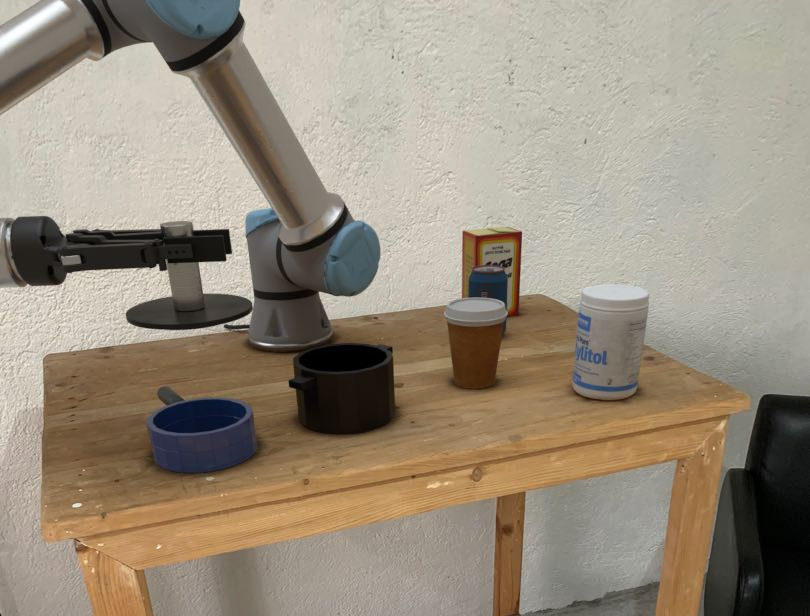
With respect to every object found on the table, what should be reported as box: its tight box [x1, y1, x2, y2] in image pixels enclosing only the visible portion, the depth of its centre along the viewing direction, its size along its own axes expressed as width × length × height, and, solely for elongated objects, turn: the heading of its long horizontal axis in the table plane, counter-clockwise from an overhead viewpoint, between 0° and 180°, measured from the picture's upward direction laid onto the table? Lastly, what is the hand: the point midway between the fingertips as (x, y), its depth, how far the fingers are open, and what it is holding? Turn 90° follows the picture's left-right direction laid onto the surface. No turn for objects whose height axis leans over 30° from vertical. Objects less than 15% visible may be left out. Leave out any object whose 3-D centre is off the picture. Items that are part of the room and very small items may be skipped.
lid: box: [125, 220, 253, 331], centre depth 93 cm, size 15×15×11 cm
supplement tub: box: [571, 283, 650, 401], centre depth 115 cm, size 10×10×15 cm
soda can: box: [468, 265, 508, 336], centre depth 143 cm, size 7×7×12 cm
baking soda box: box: [461, 226, 523, 317], centre depth 155 cm, size 10×6×16 cm
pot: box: [287, 342, 396, 435], centre depth 111 cm, size 14×19×8 cm
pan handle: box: [157, 385, 186, 406], centre depth 110 cm, size 10×2×2 cm, turn 32°
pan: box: [146, 396, 258, 474], centre depth 103 cm, size 13×13×5 cm
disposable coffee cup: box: [443, 297, 508, 390], centre depth 121 cm, size 10×10×12 cm
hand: (226, 244), depth 92 cm, fingers closed on lid, 4 cm apart
